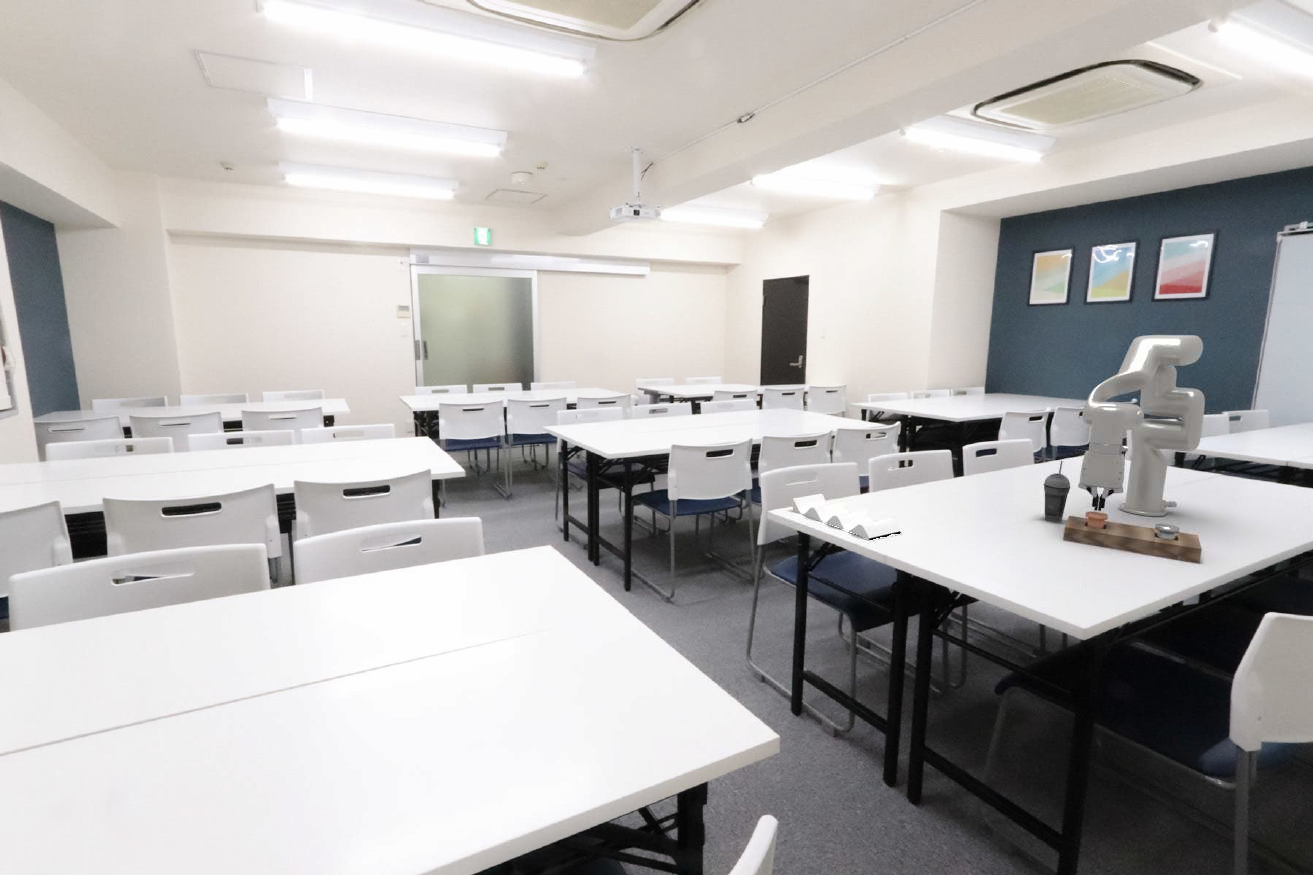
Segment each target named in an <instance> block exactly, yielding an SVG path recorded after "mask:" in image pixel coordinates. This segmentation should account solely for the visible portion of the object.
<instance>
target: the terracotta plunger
mask: <svg viewBox="0 0 1313 875" xmlns="http://www.w3.org/2000/svg"><path fill="white" fill-rule="evenodd" d="M1085 518H1088V525H1087V527H1093V528H1100V529H1103V526H1104V521H1106V520H1107V521H1108V519H1109V515H1108V514H1106V513H1104V512H1101V511H1086V512H1085Z"/></svg>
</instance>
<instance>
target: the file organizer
mask: <svg viewBox="0 0 1313 875" xmlns="http://www.w3.org/2000/svg"><path fill="white" fill-rule="evenodd" d="M792 512H794V513H797V514H799V513H800V514H799V515H801V514H802V516H804V515H806V516H805V517H807V518H810V519H812V518H813V520H814V519H815V521H817V522H820V521H822V522H823V521H827V522H825V523H827V524H831V525H833V526H837V527H839V528H841V529H851V530H850V531H849V532H852V533H854V534H857V535H859V536H861V537H864V538H866V539H868V540H867V541H869V540H873V539H876V538H880V537H887V536H889V535H891V534H900V533H901V534H902V532H901V530H900V528H899V527H898V524H897V522H896V521H895V520H894V518H892V517H889V518H883V519H879V520H878V519H877V520H875V521H874V519H873V518H872V515H871V514H870V512H869V511H868V510H867V509H862V510H856V511H851V512H850V510H849V508H848V506H847V505H846V503H844V502H843V501H840V502H838V501H837V502H834V503H827V501H826V499H825V497H824V494H823V493H818V494H817V493H816V494H812V495H806V496H800V497H794V498H793V499H792ZM822 522H821V523H822ZM825 523H824V524H825ZM827 524H826V525H827ZM833 526H832V527H833ZM901 534H900V535H901ZM859 536H858V537H859ZM861 537H860V538H861ZM864 538H863V539H864ZM887 538H888V537H887ZM866 539H865V540H866ZM873 541H874V540H873Z"/></svg>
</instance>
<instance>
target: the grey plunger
mask: <svg viewBox="0 0 1313 875" xmlns="http://www.w3.org/2000/svg"><path fill="white" fill-rule="evenodd" d="M1154 529H1157V530H1158V534H1157V538H1163V539H1170V540H1175V535H1176V533H1179V532H1181V528H1180V527H1179V526H1176V525H1172V524H1168V523H1156V524H1155V526H1154Z"/></svg>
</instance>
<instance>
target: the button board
mask: <svg viewBox="0 0 1313 875" xmlns="http://www.w3.org/2000/svg"><path fill="white" fill-rule="evenodd" d="M1087 525H1088V517H1082V516H1081V517H1080V516H1073V515H1068V517H1067V520H1066V522H1065V525H1064V530H1063V539H1062V540H1063V541H1066V542H1073V543H1078V544H1084V545H1090V546H1096V547H1101V548H1106V549H1107V548H1108V549H1113V550H1117V551H1124V552H1131V553H1137V554H1142V555H1149V556H1155V557H1158V558H1159V557H1160V558H1166V559H1171V560H1175V561H1176V560H1177V561H1178V560H1179V561H1183V562H1188V561H1189V563H1193V562H1194V563H1195V564H1200V562H1201V556H1202V551H1203V550H1202V549H1203V548H1202V546H1201V542H1200V538H1199V535H1198V534H1193V533H1188V532H1181V531H1179V533H1176V535H1175V540H1170V539H1163V538H1157V534H1158V530H1157V529H1155V527H1153V528H1152V527H1146V526H1138V525H1132V524H1126V523H1119V522H1113V521H1109V520H1107V521H1106V520H1104V526H1103V529H1100V528H1093V527H1087ZM1194 563H1193V564H1194Z"/></svg>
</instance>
